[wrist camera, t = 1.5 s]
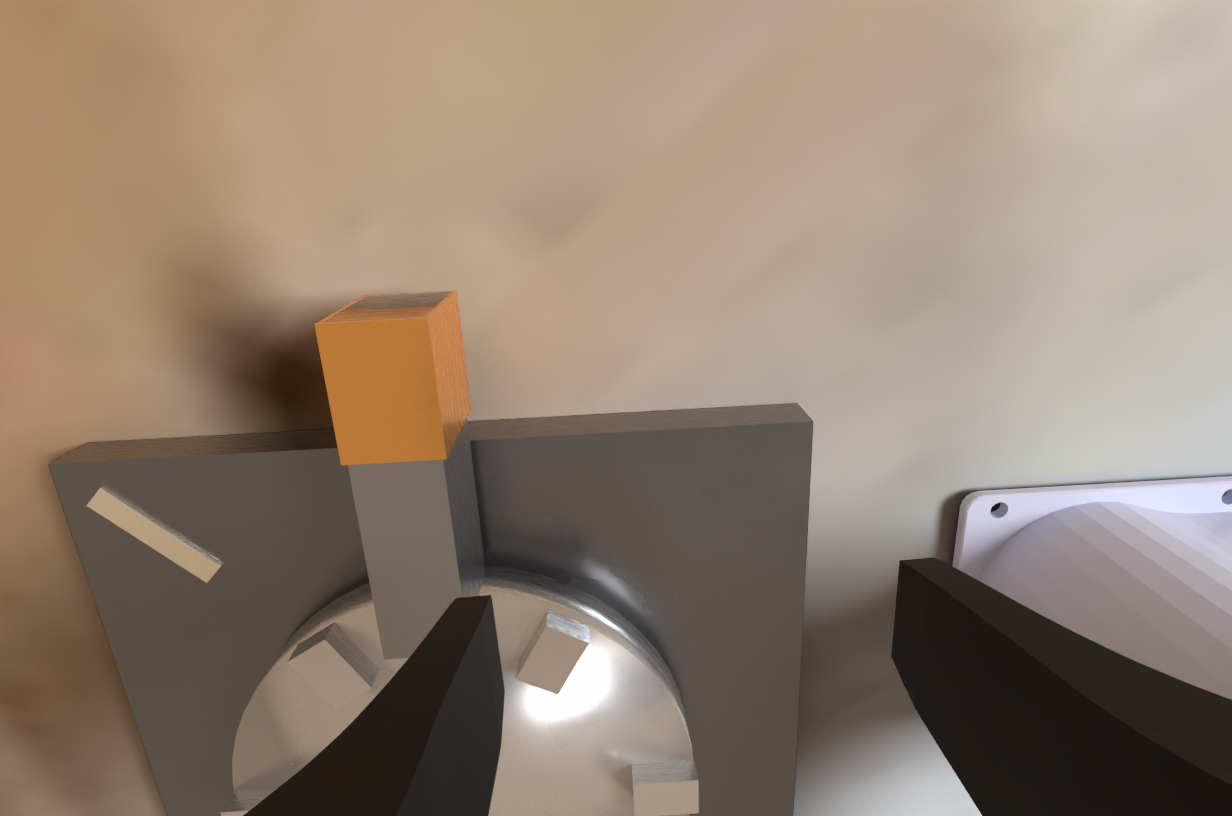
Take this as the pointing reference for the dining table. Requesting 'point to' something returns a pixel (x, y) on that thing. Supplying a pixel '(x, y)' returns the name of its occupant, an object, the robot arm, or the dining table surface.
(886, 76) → the dining table surface
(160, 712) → the base plate
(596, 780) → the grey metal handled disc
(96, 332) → the dining table surface
